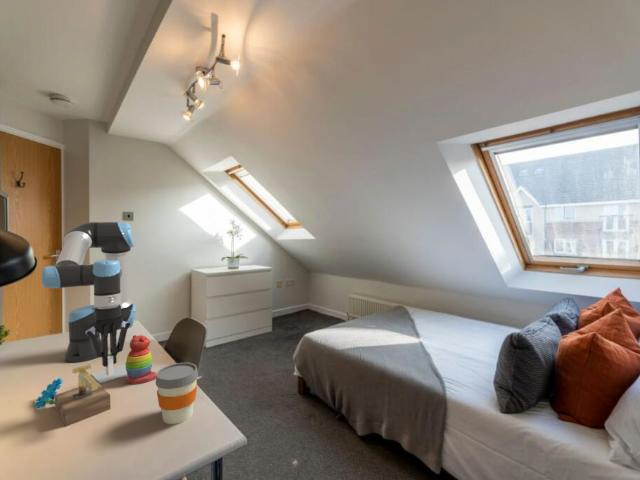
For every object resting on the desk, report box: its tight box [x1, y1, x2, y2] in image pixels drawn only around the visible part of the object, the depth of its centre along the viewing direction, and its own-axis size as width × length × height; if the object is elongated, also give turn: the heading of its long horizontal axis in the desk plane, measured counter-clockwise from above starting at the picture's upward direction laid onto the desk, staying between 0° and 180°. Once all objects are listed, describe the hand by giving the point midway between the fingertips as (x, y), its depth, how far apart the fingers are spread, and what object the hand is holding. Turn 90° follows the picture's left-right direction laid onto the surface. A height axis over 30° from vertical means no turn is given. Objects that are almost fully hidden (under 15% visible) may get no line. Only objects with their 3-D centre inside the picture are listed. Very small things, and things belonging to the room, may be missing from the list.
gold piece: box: [72, 364, 98, 395], centre depth 101 cm, size 15×5×9 cm, turn 50°
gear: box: [34, 377, 64, 409], centre depth 110 cm, size 11×6×10 cm
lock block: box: [54, 381, 112, 427], centre depth 105 cm, size 14×12×5 cm
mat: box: [90, 363, 128, 385], centre depth 131 cm, size 12×12×1 cm
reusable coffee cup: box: [155, 362, 199, 425], centre depth 102 cm, size 12×13×15 cm
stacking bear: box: [125, 334, 157, 385], centre depth 126 cm, size 11×10×18 cm
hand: (109, 374), depth 107 cm, fingers closed
